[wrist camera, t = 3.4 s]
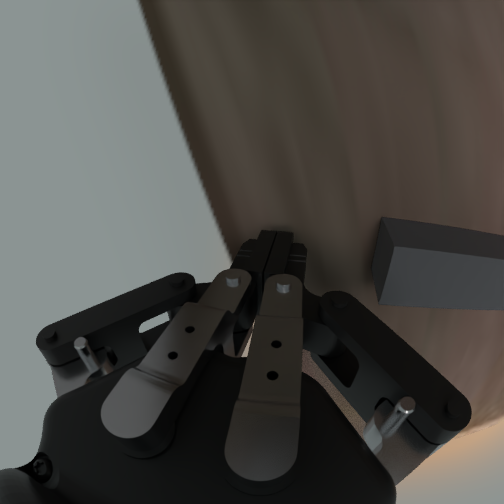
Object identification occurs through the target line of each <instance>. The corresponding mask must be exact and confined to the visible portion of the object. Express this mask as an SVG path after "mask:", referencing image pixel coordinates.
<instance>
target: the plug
mask: <svg viewBox="0 0 504 504" xmlns="http://www.w3.org/2000/svg"><path fill="white" fill-rule="evenodd" d="M371 270H372V274H373V279H374V284H375V288H376V293H377V298H378V304H381V305H394V306H410V307H427V308H447V309H473V310H504V236H502V235H497V234H491V233H486V232H480V231H475V230H469V229H463V228H457V227H451V226H444V225H438V224H431V223H424V222H417V221H410V220H402V219H395V218H387V217H382V218H381V223H380V229H379V234H378V239H377V244H376V249H375V253H374V258H373V262H372V267H371Z"/></svg>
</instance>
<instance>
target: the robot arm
mask: <svg viewBox="0 0 504 504" xmlns="http://www.w3.org/2000/svg"><path fill="white" fill-rule="evenodd" d="M306 257H307V249H306V247H305V246H304V244H300V243H293V233H292V232H281V231H278V233H277V231H268V230H261V232H260V235H259V237H258V239H257V240H256V239H249V240H248V241H246V242H245V243H243V245H242V246H241V248H240V251H239V252H238V254H237V256H236V258H235V259H234V261H233V263H232V265H231V267H230V269H227V270H224V271H222V272H220V273H219V274H218V275H217V276H216V277H215V279H214V280H213V282H210V283H199V284H196V283H195V279H194V277H193V276H192V275H191V274H188V273H174V274H171V275H168V276H166V277H164V278H161V279H159V280H156V281H153V282H151V283H149V284H146V285H144V286H142V287H139V288H137V289H134V290H132V291H129V292H127V293H124V294H122V295H120V296H117V297H115V298H112V299H110V300H108V301H105V302H103V303H100V304H98V305H96V306H93V307H91V308H88V309H86V310H84V311H81V312H79V313H76V314H74V315H72V316H70V317H67V318H65V319H62V320H60V321H57V322H55V323H53V324H50V325H48V326H46V327H45V328H43V329H42V330H41V331H40V332H39V334H38V336H37V338H36V345H37V347H38V348H39V350H40V351H41V352H42V354H43V356H44V357H45V359H46V361H47V363H48V364H49V366H50V367H51V370H52V375H53V380H54V384H55V388H56V393H57V396H58V398H57V399H56V400H55V401H54V402H53V403H52V404H51V405H50V407H49V408H48V410H47V412H46V414H45V418H44V423H43V432H42V438H41V442H40V446H39V449H38V452H37V454H36V456H35V457H34V459H33V460H32V461H31V462H29V463H28V464H26V465H24V466H21V467H18V468H13V469H12V468H9V469H4V470H0V504H396V487H395V486H396V485H397V484H398V483H399V482H401V481H402V480H403V479H404V478H405V477H406V476H408V475H409V474H410V473H411V472H412V471H413V470H414V469H415V468H417V467H418V466H419V465H420V464H421V463H422V462H423V461H424V460H425V459H426V458H428V457H429V456H430V455H432V454H433V453H434V452H435V451H437V450H438V449H440V448H441V447H442V446H443V445H444V444H446V443H447V442H448V441H450V440H451V439H452V438H453V437H454V436H456V435H457V434H458V433H459V432H460V431H461V430H462V429H464V428H465V427H466V426H467V425H468V423H469V421H470V419H471V414H472V411H471V406H470V403H469V401H468V400H467V398H466V397H465V396H464V395H463V394H462V393H461V392H460V391H458V390H457V389H456V388H455V387H454V386H453V385H452V384H451V383H450V382H449V381H448V380H447V379H446V378H445V377H444V376H442V375H441V374H440V373H439V372H438V371H437V370H436V369H435V368H434V367H433V366H432V365H430V364H429V363H428V362H427V361H426V360H425V359H424V358H423V357H422V356H421V355H419V354H418V353H417V352H416V351H415V350H414V349H413V348H412V347H411V346H409V345H408V344H407V343H406V342H405V341H404V340H403V339H402V338H400V337H399V336H398V335H397V334H396V333H395V332H394V331H393V330H391V329H390V328H389V327H388V326H387V325H386V324H385V323H383V322H382V321H381V320H380V319H379V318H378V317H377V316H375V315H374V314H373V313H372V312H371V311H370V310H368V309H367V308H366V307H365V306H364V305H363V304H361V303H360V302H359V301H358V300H357V299H356V298H354V297H353V296H352V295H350V294H348V293H346V292H342V291H330V292H327V293H325V294H324V295H323V296H322V297H319V296H316V295H314V294H312V293H310V292H309V291H308V290H307V289H306V288H305V287H304V278H305V268H306ZM165 312H168V316H169V319H170V320H169V321H167V322H165V323H163V324H160V325H158V326H156V327H154V328H152V329H149V330H147V331H145V332H143V333H139V327H140V325H141V324H142V323H143V322H145V321H147V320H149V319H151V318H154V317H156V316H158V315H160V314H162V313H165ZM255 317H256V318H255ZM254 320H255V323H254ZM253 323H254V328H253ZM252 331H253V333H252ZM251 333H252V338H251V343H250V347H249V352H248V356H247V357H241V356H242V354H243V352H244V349H245V347H246V345H247V343H248V340H249V338H250V336H251ZM303 349H305V350H308V351H310V352H311V357H312V359H313V360H314V362H315V363H316V364H317V365H318V366H319V368H320V369H321V370H322V371H323V372H324V374H325V375H326V376H327V377H328V378H329V380H330V381H331V382H332V383H333V384H334V386H335V387H336V388H337V389H338V390H339V391H340V393H341V394H342V395H343V396H344V397H345V399H346V400H347V401H348V402H349V403H350V404H351V406H352V407H353V408H354V409H355V410H356V411H357V413H358V414H359V415H360V416H361V417H362V418H363V420H364V421H365V422H366V425H365V427H364V432H363V435H364V439H365V441H366V443H367V444H366V443H365V441H364V440H363V439H362V438H361V436H360V435H359V434H358V432H357V431H356V430H355V428H354V427H353V426H352V425H351V423H350V422H349V421H348V419H347V418H346V417H345V415H344V414H343V413H342V411H341V410H340V409H339V407H338V406H337V405H336V403H335V402H334V401H333V399H332V398H331V397H330V395H329V394H328V393H327V391H326V390H325V389H324V388H323V387H322V386H321V385H320V384H319V383H318V382H317V381H316V380H315V379H313V378H312V377H311V376H309V375H307V374H305V373H303V372H302V350H303ZM368 446H369V447H368Z"/></svg>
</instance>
